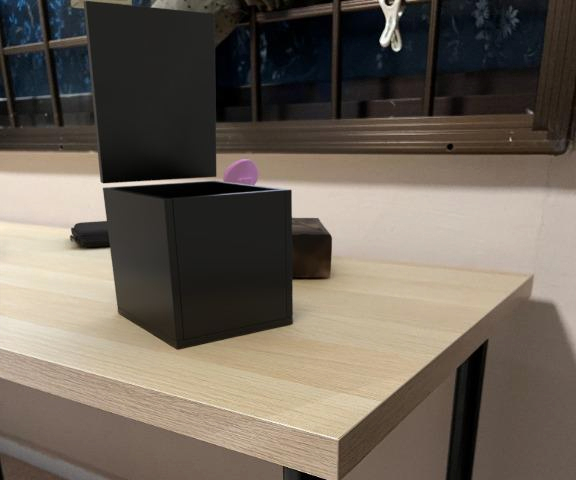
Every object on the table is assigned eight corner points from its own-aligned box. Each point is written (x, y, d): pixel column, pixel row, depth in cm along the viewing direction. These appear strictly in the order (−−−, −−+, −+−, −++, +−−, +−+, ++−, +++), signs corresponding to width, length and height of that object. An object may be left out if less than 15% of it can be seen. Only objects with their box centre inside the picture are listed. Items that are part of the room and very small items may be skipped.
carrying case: (65, 238, 119) (73, 250, 107) (63, 222, 118) (71, 232, 106) (121, 234, 123) (135, 245, 111) (119, 218, 122) (133, 228, 109)
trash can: (293, 324, 65) (291, 189, 60) (177, 349, 58) (164, 199, 53) (221, 294, 77) (215, 180, 72) (117, 313, 70) (102, 187, 65)
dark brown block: (320, 253, 102) (320, 212, 99) (333, 279, 84) (334, 231, 82) (272, 254, 101) (272, 213, 99) (275, 281, 84) (274, 232, 81)
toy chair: (231, 248, 107) (227, 157, 102) (271, 252, 103) (269, 158, 97) (199, 255, 101) (192, 159, 95) (240, 261, 96) (236, 160, 91)
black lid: (214, 13, 64) (190, 15, 68) (85, 0, 57) (67, 4, 61) (216, 176, 71) (194, 170, 75) (103, 183, 64) (85, 175, 68)
